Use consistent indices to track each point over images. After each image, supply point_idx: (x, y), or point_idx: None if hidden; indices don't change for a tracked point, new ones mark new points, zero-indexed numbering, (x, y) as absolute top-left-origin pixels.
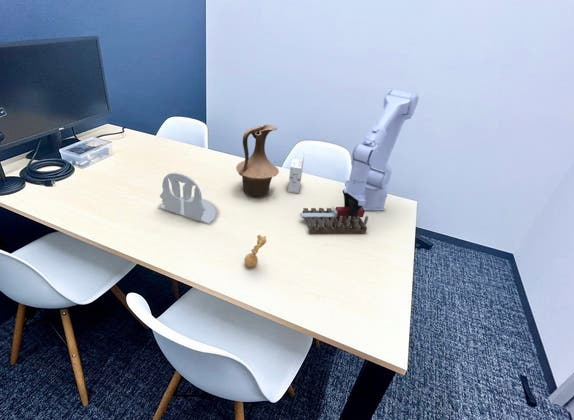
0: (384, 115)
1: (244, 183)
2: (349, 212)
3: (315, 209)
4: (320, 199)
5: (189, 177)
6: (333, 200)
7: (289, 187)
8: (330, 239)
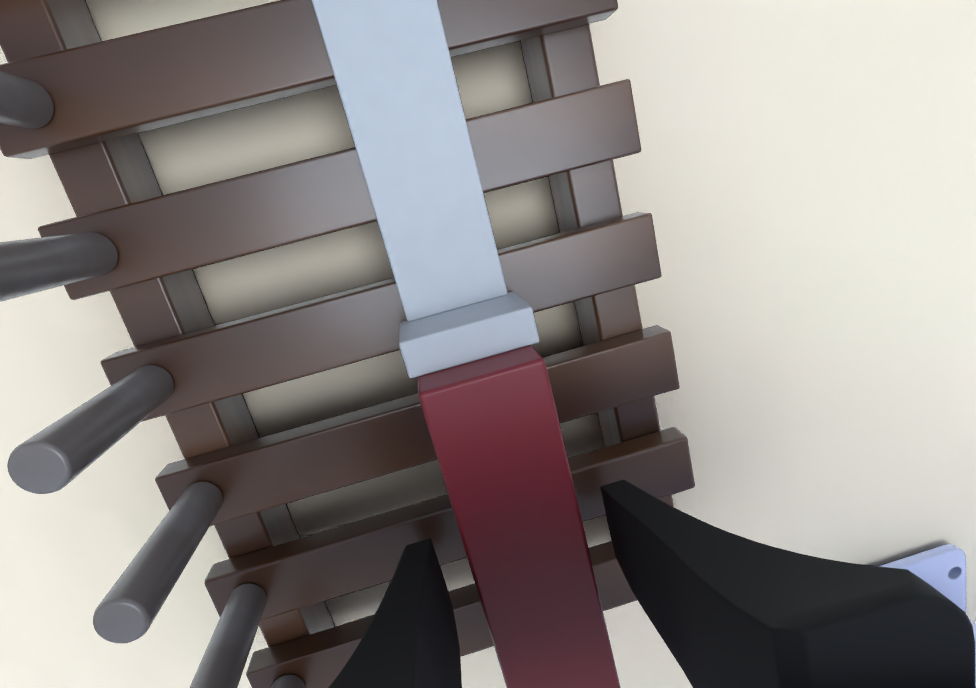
0: None
1: None
2: (395, 580)
3: (573, 7)
4: (963, 152)
5: None
6: (943, 321)
7: None
8: None
